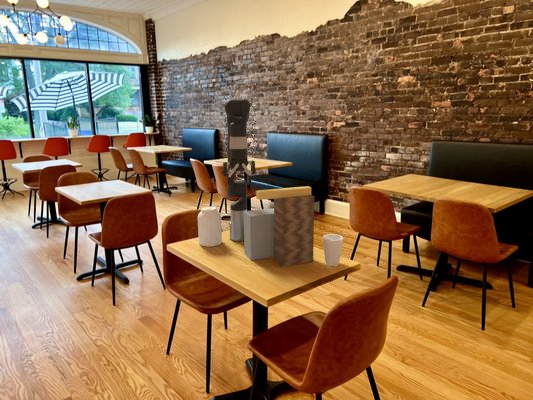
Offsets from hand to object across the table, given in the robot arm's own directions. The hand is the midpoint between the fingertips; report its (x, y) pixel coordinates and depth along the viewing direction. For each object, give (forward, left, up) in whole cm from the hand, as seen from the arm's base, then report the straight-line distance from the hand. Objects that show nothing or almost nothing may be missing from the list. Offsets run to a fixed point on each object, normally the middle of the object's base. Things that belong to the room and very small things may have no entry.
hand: (239, 185), depth 172 cm
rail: (+16, +15, -7) cm, 23 cm away
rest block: (+3, +21, -39) cm, 45 cm away
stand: (+19, +18, -39) cm, 47 cm away
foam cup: (+38, +20, -40) cm, 58 cm away
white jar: (-30, +28, -40) cm, 57 cm away
